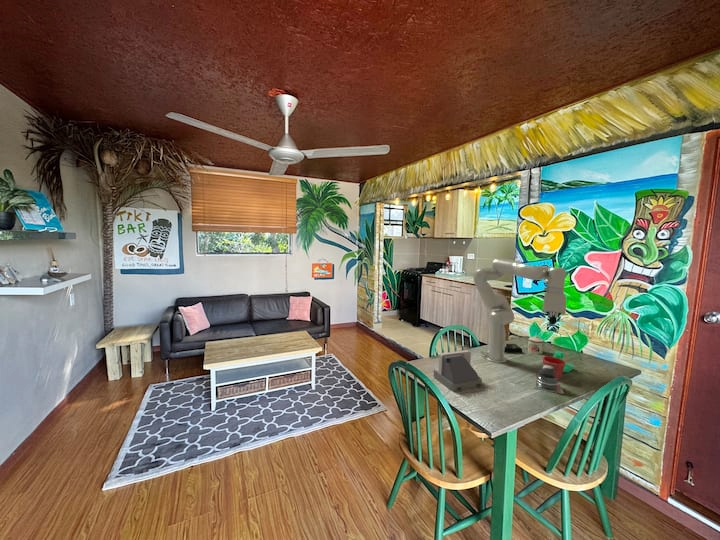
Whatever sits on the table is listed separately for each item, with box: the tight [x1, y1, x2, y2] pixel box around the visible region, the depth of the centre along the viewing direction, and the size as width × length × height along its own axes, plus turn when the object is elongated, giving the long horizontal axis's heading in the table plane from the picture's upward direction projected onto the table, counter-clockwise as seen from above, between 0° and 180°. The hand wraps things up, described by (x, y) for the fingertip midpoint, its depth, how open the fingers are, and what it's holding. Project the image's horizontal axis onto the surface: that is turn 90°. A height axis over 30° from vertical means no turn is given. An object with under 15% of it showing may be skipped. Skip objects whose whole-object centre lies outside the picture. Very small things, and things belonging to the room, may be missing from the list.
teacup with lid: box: [527, 335, 549, 355], centre depth 202 cm, size 12×9×12 cm
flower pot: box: [542, 356, 566, 381], centre depth 165 cm, size 11×11×10 cm
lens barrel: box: [531, 370, 565, 395], centre depth 154 cm, size 13×11×6 cm
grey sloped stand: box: [433, 349, 483, 392], centre depth 157 cm, size 21×21×15 cm
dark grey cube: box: [540, 364, 555, 378], centre depth 153 cm, size 6×6×6 cm
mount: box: [552, 350, 575, 373], centre depth 176 cm, size 12×8×10 cm, turn 117°
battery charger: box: [504, 343, 523, 354], centre depth 205 cm, size 13×10×4 cm
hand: (552, 324), depth 159 cm, fingers closed
